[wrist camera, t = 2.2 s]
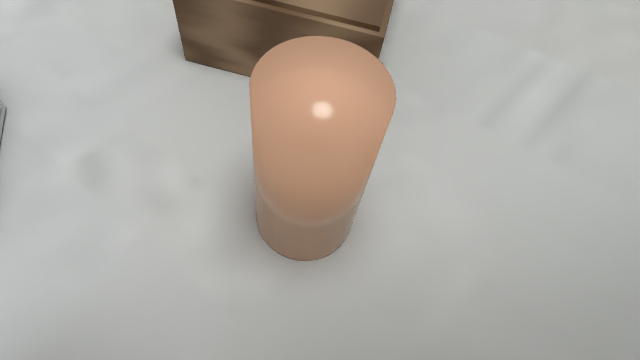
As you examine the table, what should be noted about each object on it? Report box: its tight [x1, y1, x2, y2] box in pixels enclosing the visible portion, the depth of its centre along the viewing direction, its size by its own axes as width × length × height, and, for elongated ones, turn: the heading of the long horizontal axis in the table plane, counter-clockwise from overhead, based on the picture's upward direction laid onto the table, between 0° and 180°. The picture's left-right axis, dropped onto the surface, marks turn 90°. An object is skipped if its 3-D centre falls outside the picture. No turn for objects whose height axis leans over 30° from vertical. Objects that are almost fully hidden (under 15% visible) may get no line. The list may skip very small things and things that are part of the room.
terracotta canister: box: [250, 36, 396, 261], centre depth 24 cm, size 6×6×12 cm
